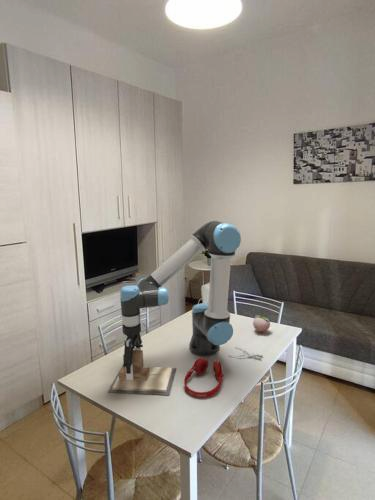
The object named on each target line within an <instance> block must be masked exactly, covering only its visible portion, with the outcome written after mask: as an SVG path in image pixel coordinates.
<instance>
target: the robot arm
mask: <svg viewBox="0 0 375 500" xmlns="http://www.w3.org/2000/svg"><path fill="white" fill-rule="evenodd" d="M241 243H242V236H241V233H240V231H239V229H238V228H237V227H235V225H232V224H231V223H227V222H222V221H218V220H211V221H208V222H206V223H205V224H203V225H202V226H200V228H198V229H196V231H194V232H193V233H192V235H191V236H190V238H189V240H188V241H186V243H185V244H183V245H182V246H181V247H180V248H179V249H177V251H175V252H174V253H173V254H172V255H171V256H170V257H169V258H168V259H167V260H165V261H164V262H163V263H162V264H161V265H160V266H159V267H157V268H156V269H155V270H153V272H152V273H151V274H149V275H148V276H147V277H143V278H141V279H139V280H138V282H137V285H126V286H123V287H122V288H121V289H120V299H119V300H120V309H121V310H120V312H121V315H120V318H121V322H122V325H121V327H122V334H123V335H125V336H126V339H125V340H124V351H123V355H124V361H123V363H122V366H123V367H125V368H126V380H133V366H132V357H133V350H142V348H143V347H144V346H143V340H142V337H141V331H142V326H141V325H142V324H141V309H147V308H154V307H162V306H166V305H168V303H169V299H170V298H169V297H170V296H169V291H168V289H167V288H166V287H163V286H164V285H165V284H167V283H168V282H169V280H171V279H172V278H173V277H175V275H177V273H179V272H180V271H181V270H182V269H183V268H184V267H186V265H188V264H189V263H190V262H191V261H192V260H193V259H195V258H196V257H197V256H198V255H199V254H200V253H201V252H206V251H207V250H208V251H207V253H208V255H209V256H210V257H211V261H210V274H209V277H210V278H209V289H208V303H207V302H201V303H197V304H194V305H193V306H192V307H191V308H192V309H191V310H192V311H191V315H192V316H191V318H192V319H191V321H192V324H191V325H192V335H191V338H190V341H189V345H188V346H189V351H190V352H191V353H192V354H193V355H197V356H204V357H207V356H212V355H216V354H217V353H218V352H219V351H220V347H221V346H222V345H225V344H227V343H228V341H230V340H231V339H232V337H233V335H234V327H233V326H232V324H231V323H230V322H231V321H230V319H231V313H230V312H229V311H228V303H229V302H228V301H229V290H230V288H229V287H230V277H231V264H232V258H233V257H235V256H236V251H237V249H238V248H239V247H240V245H241Z"/></svg>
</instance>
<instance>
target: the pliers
mask: <svg viewBox="0 0 375 500" xmlns="http://www.w3.org/2000/svg"><path fill="white" fill-rule="evenodd" d="M234 348H235V349H237V350H240V351H242V353H243V354H240V355H239V356H235V355H228V357H229V358H231V359H232V358H233V359H239V360H242V359H243V360H245V359H253V360H255V361H256V360H257V361H259V360H260V362H262V359H263V358H264V356H263V354H260V353H254V352H253V353H251V352H250V351H249V350H247V349H244V348H242V347H237V346H235V347H234Z"/></svg>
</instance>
